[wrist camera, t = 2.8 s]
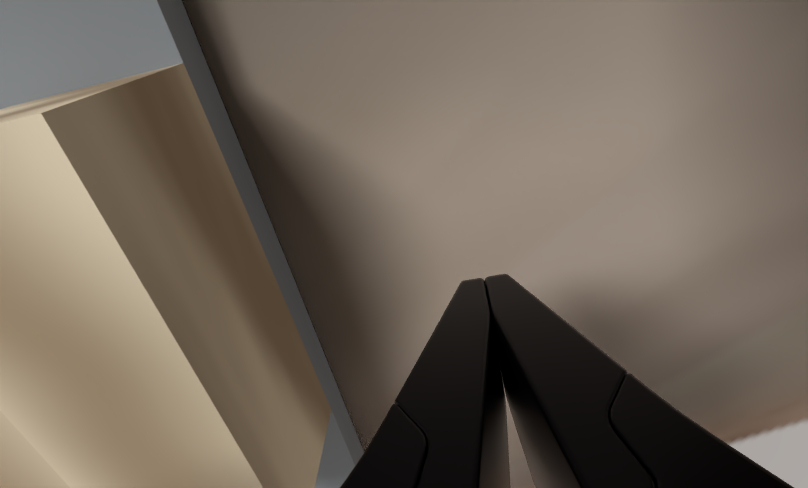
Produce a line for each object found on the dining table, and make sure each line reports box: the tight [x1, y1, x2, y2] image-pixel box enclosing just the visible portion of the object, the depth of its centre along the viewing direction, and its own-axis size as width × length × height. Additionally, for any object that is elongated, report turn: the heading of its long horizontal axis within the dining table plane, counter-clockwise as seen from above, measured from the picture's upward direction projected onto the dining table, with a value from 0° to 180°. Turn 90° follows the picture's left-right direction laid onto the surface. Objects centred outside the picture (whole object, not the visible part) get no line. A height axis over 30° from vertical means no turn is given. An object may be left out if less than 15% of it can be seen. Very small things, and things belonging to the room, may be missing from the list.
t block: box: [0, 63, 331, 488], centre depth 11 cm, size 8×10×4 cm
